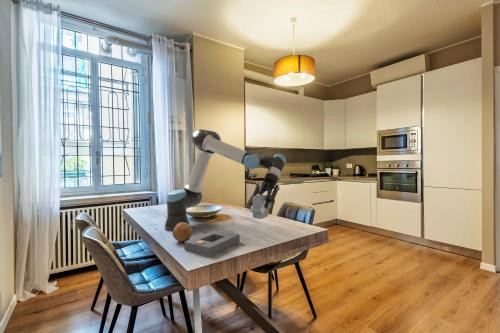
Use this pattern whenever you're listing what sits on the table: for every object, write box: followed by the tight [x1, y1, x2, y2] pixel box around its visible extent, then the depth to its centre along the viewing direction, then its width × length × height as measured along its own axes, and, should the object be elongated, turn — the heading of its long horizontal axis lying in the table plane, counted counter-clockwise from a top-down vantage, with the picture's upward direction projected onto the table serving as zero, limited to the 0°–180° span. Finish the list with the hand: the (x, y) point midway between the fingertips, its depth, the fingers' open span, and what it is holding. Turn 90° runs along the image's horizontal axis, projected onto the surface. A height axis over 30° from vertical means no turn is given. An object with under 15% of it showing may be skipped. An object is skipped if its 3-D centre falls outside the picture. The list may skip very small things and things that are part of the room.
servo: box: [248, 194, 272, 220], centre depth 127 cm, size 13×5×12 cm, turn 146°
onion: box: [172, 222, 193, 243], centre depth 129 cm, size 10×10×10 cm
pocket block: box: [183, 229, 241, 258], centre depth 121 cm, size 22×16×5 cm
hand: (256, 211), depth 124 cm, fingers closed on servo, 5 cm apart
